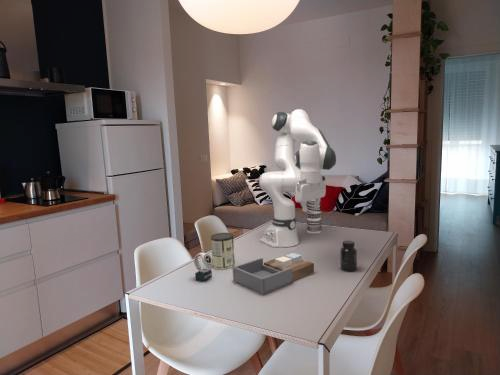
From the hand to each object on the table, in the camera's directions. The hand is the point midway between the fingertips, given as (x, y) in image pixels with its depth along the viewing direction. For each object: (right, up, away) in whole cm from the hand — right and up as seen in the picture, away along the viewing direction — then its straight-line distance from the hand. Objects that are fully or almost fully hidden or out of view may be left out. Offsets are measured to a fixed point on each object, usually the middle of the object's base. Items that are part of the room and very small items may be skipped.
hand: (310, 209), depth 161 cm
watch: (-46, -29, -8) cm, 55 cm away
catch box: (-22, -28, -14) cm, 38 cm away
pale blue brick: (-8, -22, -4) cm, 24 cm away
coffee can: (-39, -26, +6) cm, 47 cm away
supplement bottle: (+15, -25, -5) cm, 30 cm away
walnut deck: (-10, -26, -5) cm, 29 cm away
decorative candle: (+11, -17, +56) cm, 60 cm away
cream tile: (-13, -23, -7) cm, 27 cm away
